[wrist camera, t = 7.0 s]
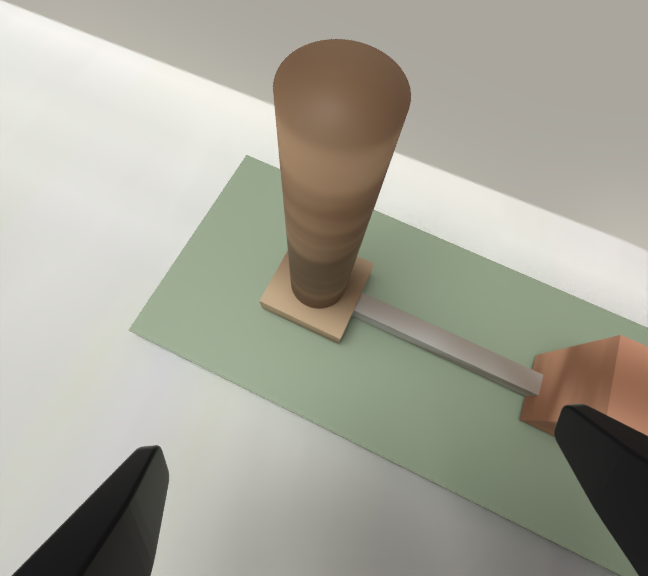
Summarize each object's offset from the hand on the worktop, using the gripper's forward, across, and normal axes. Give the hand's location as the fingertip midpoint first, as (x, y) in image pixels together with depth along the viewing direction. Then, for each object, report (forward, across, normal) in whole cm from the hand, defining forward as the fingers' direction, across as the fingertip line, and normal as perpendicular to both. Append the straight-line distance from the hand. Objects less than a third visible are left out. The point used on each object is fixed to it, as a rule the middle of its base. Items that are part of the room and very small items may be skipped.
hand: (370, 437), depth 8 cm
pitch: (+11, -10, +8) cm, 17 cm away
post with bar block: (+11, -6, +6) cm, 14 cm away
